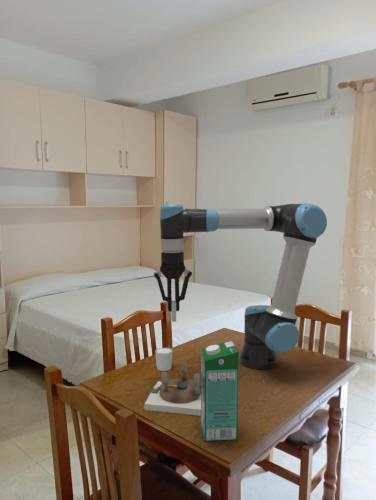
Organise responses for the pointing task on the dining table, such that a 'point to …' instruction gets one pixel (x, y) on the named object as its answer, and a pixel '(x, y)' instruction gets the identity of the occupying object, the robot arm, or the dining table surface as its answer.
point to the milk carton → (219, 391)
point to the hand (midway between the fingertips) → (173, 320)
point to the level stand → (171, 404)
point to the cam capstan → (180, 387)
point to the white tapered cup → (164, 358)
